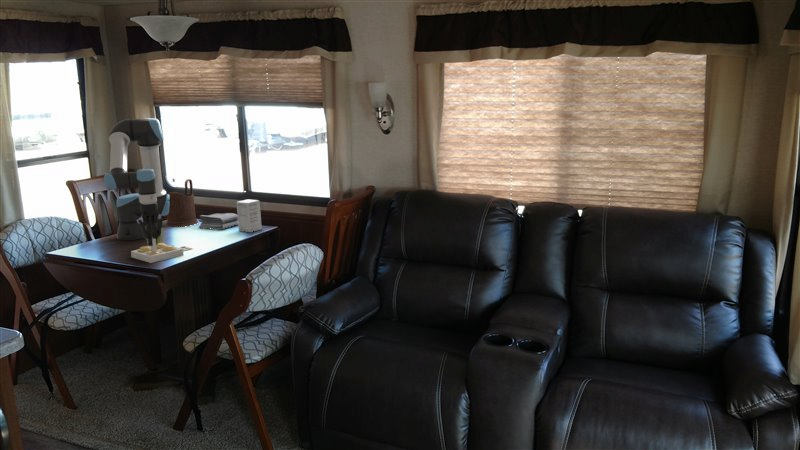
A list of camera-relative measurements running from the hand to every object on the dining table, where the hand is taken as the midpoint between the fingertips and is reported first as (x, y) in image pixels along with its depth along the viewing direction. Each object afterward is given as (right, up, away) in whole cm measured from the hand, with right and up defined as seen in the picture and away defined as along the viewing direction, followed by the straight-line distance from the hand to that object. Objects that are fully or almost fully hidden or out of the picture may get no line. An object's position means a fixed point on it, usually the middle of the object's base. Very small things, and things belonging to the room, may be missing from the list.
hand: (153, 251), depth 283 cm
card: (+7, 0, +17) cm, 19 cm away
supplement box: (+31, +10, +57) cm, 66 cm away
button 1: (-6, -1, +5) cm, 8 cm away
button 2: (0, -3, +1) cm, 3 cm away
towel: (+10, +11, +68) cm, 70 cm away
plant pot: (-9, +1, +24) cm, 26 cm away
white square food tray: (-1, -2, +6) cm, 6 cm away
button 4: (+5, -1, +6) cm, 8 cm away
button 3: (-1, 0, +11) cm, 11 cm away
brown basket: (-14, +14, +78) cm, 81 cm away
